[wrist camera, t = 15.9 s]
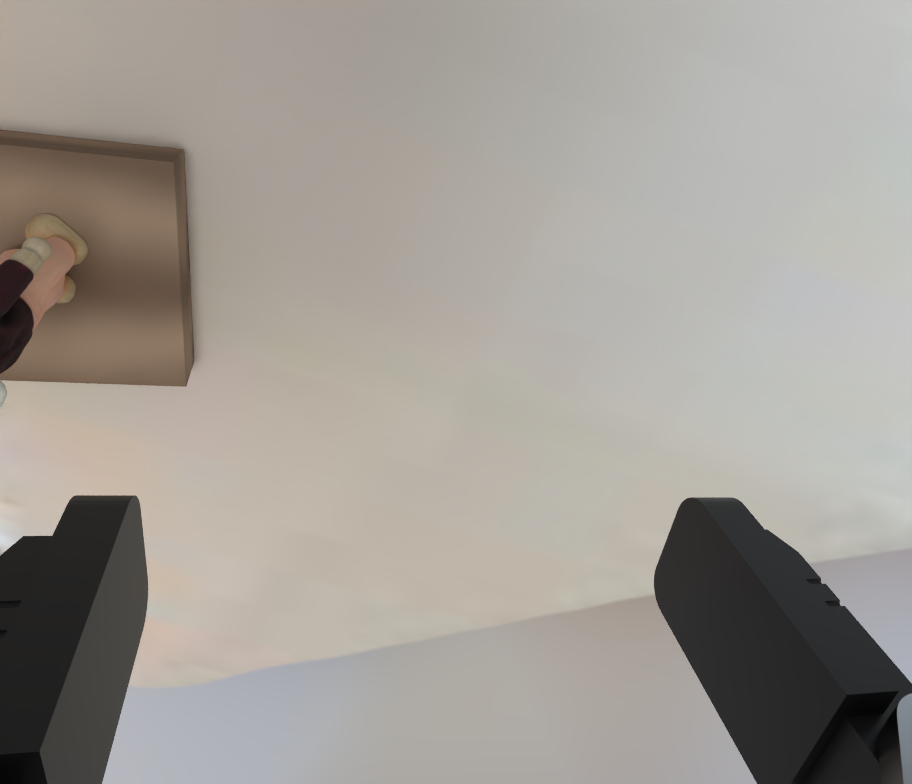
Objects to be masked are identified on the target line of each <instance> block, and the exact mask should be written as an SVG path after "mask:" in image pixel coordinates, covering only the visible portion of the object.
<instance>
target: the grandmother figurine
mask: <svg viewBox="0 0 912 784" xmlns="http://www.w3.org/2000/svg"><path fill="white" fill-rule="evenodd" d="M25 237H26V240H25V242H24V243H23V245H22V248H21V249H11V250H7V251H5V252H3V253H2V254H1V255H0V374H1V373H3V372H4V371H6V370H7V369H9V368H10V367H11V366H12V365H13V364H14V363H15V362H16V361H17V360H18V359H19V357H20V355H21V354H22V352H23V350H24V348H25V346H26V345H27V344H28V342H29V341H30V339H31V337H32V332H33V331H34V329H35V328H36V326H37V325H38V323H39V321H40V320H41V318H42V317H43V314H44V313H45V312H46V311H47V310H48V309H49V308H51V307H52V306H53V305H54V304H55V303H67V302H69V301H71V300H72V299H73V297H74V295H75V290H76V285H75V283H74V281H73V280H72V278H71V277H69V276H68V275H66V273H67V272H68V271H69V270H70V269H71V267H72V266H73V265H77V264H79V263H81V262H82V261H83V260H84V259H85V258H86V256H87V254H88V247H87V244H86V242H85V241H84V240H83V239H82V238H81V237H80V236H79V235H78V234H77V233H75V232H74V231H73V230H72V229H71V228H70V227H69V226H68V225H66V224H65V223H64V222H63V221H62V220H61V219H59V218H58V217H56V216H54V215H50V214H47V213H46V214H38V215H36V216H34V217H32V218H31V219H30V220H29V222H28V223H27V225H26V227H25ZM6 395H7V390H6V387H5V385H4V384H3V383H2V382H1V381H0V408H1V407H2V405H3V402H4V400H5V398H6Z"/></svg>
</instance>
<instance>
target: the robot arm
mask: <svg viewBox="0 0 912 784" xmlns="http://www.w3.org/2000/svg"><path fill="white" fill-rule="evenodd" d="M654 589H655V596H656V600H657V603H658V606H659V608H660V610H661V612H662V614H663V616H664V618H665V619H666V621H667V623H668V625H669V627H670V628H671V630H672V632H673V634H674V635H675V637H676V639H677V641H678V643H679V644H680V646H681V648H682V650H683V651H684V653H685V655H686V657H687V659H688V661H689V662H690V664H691V666H692V668H693V670H694V671H695V673H696V675H697V677H698V678H699V680H700V682H701V684H702V686H703V687H704V689H705V691H706V693H707V695H708V696H709V698H710V700H711V702H712V704H713V705H714V707H715V709H716V711H717V712H718V714H719V716H720V718H721V719H722V721H723V723H724V725H725V727H726V728H727V730H728V732H729V734H730V736H731V738H732V739H733V741H734V743H735V745H736V746H737V748H738V750H739V752H740V754H741V755H742V757H743V759H744V761H745V762H746V764H747V766H748V768H749V770H750V772H751V773H752V775H753V777H754V779H755V780H756V782H757V784H912V684H911V682H910V681H909V680H908V679H907V678H906V677H905V675H904V674H903V673H902V672H901V671H900V670H899V669H898V667H897V666H896V665H895V664H894V663H893V662H892V660H891V659H890V658H889V657H888V656H887V655H886V653H885V652H884V651H883V650H882V649H881V648H880V646H879V645H878V644H877V643H876V642H875V641H874V639H873V638H872V637H871V636H870V635H869V634H868V633H867V631H866V630H865V629H864V628H863V627H862V626H861V625H860V623H859V622H858V621H857V620H856V619H855V617H854V616H853V615H852V614H851V613H850V612H849V610H848V609H847V608H846V607H845V606H840V603H839V602H840V600H839V599H838V598H837V597H836V595H835V594H834V593H833V592H832V591H831V590H830V588H829V587H828V586H827V585H826V584H822V583H821V578H820V577H819V576H818V575H817V574H816V572H815V571H814V570H813V569H812V568H811V566H810V565H809V564H808V563H807V562H806V561H805V559H804V558H803V557H802V556H801V555H800V554H799V552H797V551H796V550H795V549H793V548H792V547H790V546H789V545H788V544H786V543H785V542H784V541H782V540H781V539H779V538H778V537H777V536H775V535H774V534H773V533H771V532H770V531H769V530H765V529H764V528H763V527H762V526H761V525H760V523H759V522H758V521H757V520H756V519H755V517H754V516H753V515H752V514H751V513H750V512H749V510H748V509H747V508H746V507H745V506H744V504H743V503H742V502H741V501H739V500H738V499H735V498H687V499H686V500H684V501H683V502H682V503H681V505H680V507H679V509H678V511H677V514H676V517H675V519H674V522H673V525H672V527H671V530H670V532H669V535H668V538H667V540H666V543H665V546H664V548H663V551H662V554H661V556H660V559H659V562H658V564H657V567H656V570H655V575H654ZM147 600H148V577H147V567H146V557H145V548H144V538H143V528H142V518H141V509H140V503H139V500H138V498H137V496H74V497H72V498H71V500H70V501H69V503H68V504H67V507H66V509H65V511H64V513H63V515H62V517H61V519H60V521H59V523H58V525H57V527H56V529H55V532H54V534H53V536H23V537H22V538H21V539H20V540H18V541H17V542H16V543H15V544H14V545H12V546H11V547H10V548H9V549H8V550H7V551H5V552H4V553H3V554H2V555H1V556H0V784H102V781H103V777H104V773H105V770H106V766H107V762H108V758H109V755H110V751H111V747H112V744H113V740H114V736H115V732H116V728H117V725H118V721H119V717H120V714H121V710H122V706H123V702H124V699H125V695H126V691H127V687H128V684H129V680H130V676H131V672H132V669H133V665H134V661H135V658H136V654H137V650H138V646H139V643H140V639H141V635H142V631H143V627H144V623H145V617H146V610H147Z"/></svg>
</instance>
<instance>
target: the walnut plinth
mask: <svg viewBox="0 0 912 784" xmlns="http://www.w3.org/2000/svg"><path fill="white" fill-rule="evenodd" d="M46 213H47V214H50V215H54V216H56V217H58V218H59V219H61V220H62V221H63V222H64V223H65V224H66V225H68V226H69V227H70V228H71V229H72V230H73V231H74V232H75V233H77V234H78V235H79V236H80V237H81V238H82V239H83V240H84V241H85V242H86V244H87V247H88V254H87V256H86V258H85V259H84V260H83V261H82V262H81V263H79V264H77V265H73V266H72V267H71V269H70V270H69V271H68V272H67V273H66V275H68V276H69V277H71V278H72V280H73V281H74V283H75V285H76V290H75V295H74V297H73V299H72V300H71V301H69V302H67V303H55V304H54V305H53V306H52V307H51V308H49V309H48V310H47V311H46V312H45V313H44V314H43V317H42V318H41V320H40V321H39V323H38V325H37V326H36V328H35V329H34V331H33V332H32V337H31V339H30V341H29V342H28V344H27V345H26V346H25V348H24V350H23V352H22V354H21V355H20V357H19V359H18V360H17V361H16V362H15V363H14V364H13V365H12V366H11V367H10V368H9V369H7V370H6V371H4V372H3V373H1V374H0V380H11V381H40V382H69V383H99V384H128V385H157V386H186V385H187V382H188V379H189V376H190V373H191V370H192V367H193V364H194V347H193V326H192V306H191V285H190V264H189V244H188V223H187V202H186V182H185V161H184V150H183V149H173V148H164V147H155V146H145V145H136V144H127V143H117V142H108V141H99V140H89V139H80V138H70V137H61V136H52V135H42V134H33V133H24V132H14V131H5V130H0V255H1V254H2V253H3V252H5V251H7V250H11V249H21V248H22V245H23V243H24V242H25V240H26V237H25V227H26V225H27V223H28V222H29V220H30V219H31V218H32V217H34V216H36V215H38V214H46Z"/></svg>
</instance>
